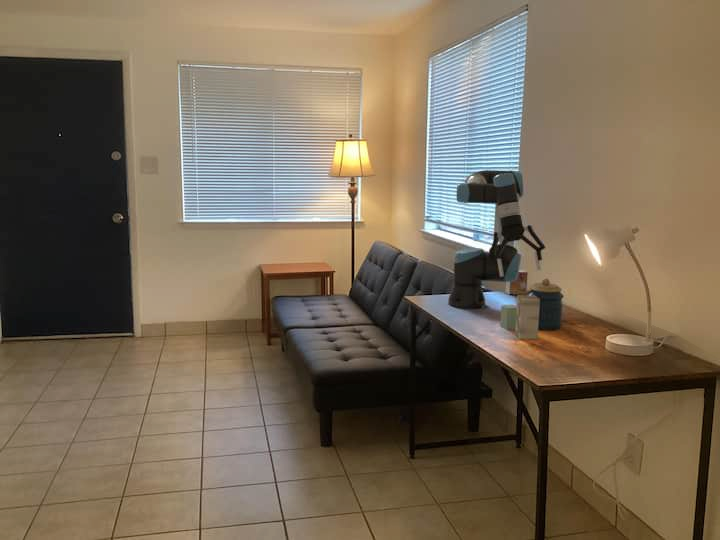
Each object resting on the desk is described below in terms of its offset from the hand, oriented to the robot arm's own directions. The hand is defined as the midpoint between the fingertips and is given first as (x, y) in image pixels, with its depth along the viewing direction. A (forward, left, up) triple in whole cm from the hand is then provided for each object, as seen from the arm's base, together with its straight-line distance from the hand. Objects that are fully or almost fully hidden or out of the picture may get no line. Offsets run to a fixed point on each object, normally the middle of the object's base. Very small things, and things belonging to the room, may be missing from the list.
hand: (520, 273), depth 229 cm
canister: (+1, +9, -19) cm, 22 cm away
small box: (-54, +13, -19) cm, 59 cm away
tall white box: (+16, -1, -19) cm, 25 cm away
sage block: (+4, -4, -19) cm, 20 cm away
